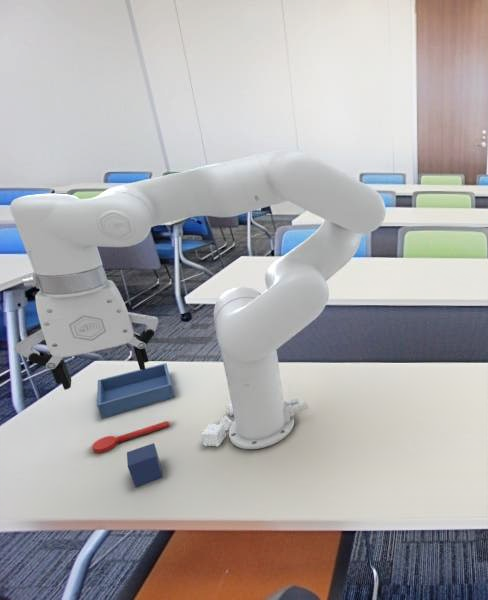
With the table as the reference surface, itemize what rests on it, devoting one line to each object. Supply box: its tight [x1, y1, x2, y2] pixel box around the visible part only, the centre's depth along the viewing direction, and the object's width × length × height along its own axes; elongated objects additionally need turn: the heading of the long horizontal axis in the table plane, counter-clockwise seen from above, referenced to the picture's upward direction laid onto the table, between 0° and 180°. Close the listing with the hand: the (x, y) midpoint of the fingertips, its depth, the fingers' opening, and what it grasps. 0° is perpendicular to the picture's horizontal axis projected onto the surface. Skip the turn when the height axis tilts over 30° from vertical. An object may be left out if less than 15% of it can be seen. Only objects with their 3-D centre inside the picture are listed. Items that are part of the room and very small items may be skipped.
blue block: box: [126, 442, 164, 488], centre depth 71 cm, size 4×4×5 cm
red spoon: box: [91, 421, 170, 454], centre depth 80 cm, size 12×4×1 cm, turn 128°
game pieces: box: [200, 400, 234, 447], centre depth 84 cm, size 12×3×3 cm, turn 1°
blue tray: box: [96, 362, 176, 419], centre depth 92 cm, size 13×11×4 cm
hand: (106, 375), depth 66 cm, fingers open, 9 cm apart
